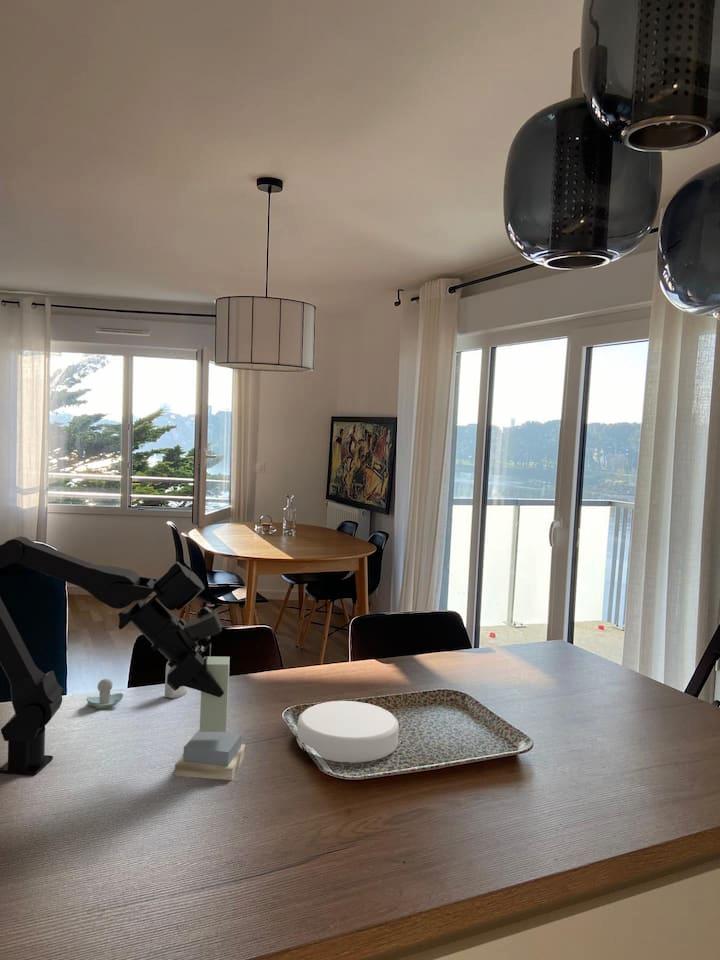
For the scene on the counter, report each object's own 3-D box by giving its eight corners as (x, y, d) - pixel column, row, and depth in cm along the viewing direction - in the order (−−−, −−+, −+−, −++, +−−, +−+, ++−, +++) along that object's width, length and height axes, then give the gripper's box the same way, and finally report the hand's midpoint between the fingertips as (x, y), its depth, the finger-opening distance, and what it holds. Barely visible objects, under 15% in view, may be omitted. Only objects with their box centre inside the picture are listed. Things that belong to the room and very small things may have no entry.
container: (276, 746, 138) (277, 722, 137) (328, 713, 155) (329, 692, 155) (369, 773, 129) (371, 748, 128) (414, 735, 146) (415, 713, 146)
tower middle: (227, 766, 124) (228, 752, 124) (183, 761, 125) (183, 747, 125) (241, 746, 132) (241, 733, 132) (199, 742, 133) (199, 728, 133)
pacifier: (83, 703, 154) (87, 712, 149) (84, 674, 154) (88, 682, 149) (118, 699, 158) (124, 708, 153) (119, 671, 158) (125, 678, 152)
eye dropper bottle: (191, 695, 161) (193, 643, 161) (167, 700, 158) (169, 646, 157) (184, 689, 165) (186, 638, 164) (160, 693, 162) (162, 641, 161)
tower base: (232, 783, 123) (232, 769, 123) (174, 778, 124) (175, 764, 124) (245, 757, 133) (245, 744, 133) (192, 753, 134) (192, 740, 134)
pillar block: (225, 731, 126) (228, 664, 126) (199, 731, 126) (202, 664, 125) (227, 721, 131) (229, 656, 130) (201, 721, 130) (204, 656, 129)
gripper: (190, 609, 117) (255, 676, 119) (200, 585, 136) (257, 644, 138) (138, 656, 117) (205, 723, 119) (156, 626, 135) (213, 684, 137)
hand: (222, 690), depth 128 cm, fingers closed on pillar block, 4 cm apart
